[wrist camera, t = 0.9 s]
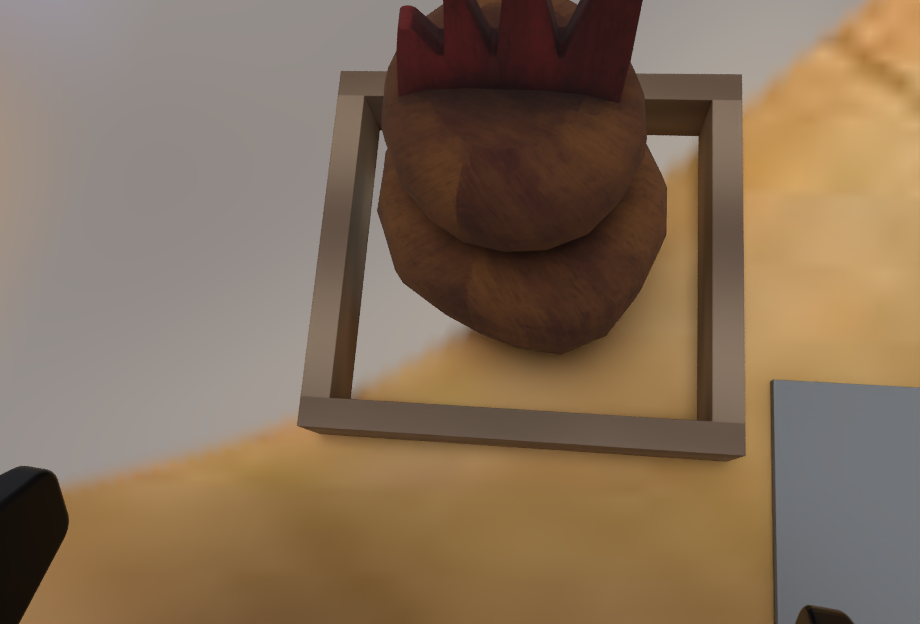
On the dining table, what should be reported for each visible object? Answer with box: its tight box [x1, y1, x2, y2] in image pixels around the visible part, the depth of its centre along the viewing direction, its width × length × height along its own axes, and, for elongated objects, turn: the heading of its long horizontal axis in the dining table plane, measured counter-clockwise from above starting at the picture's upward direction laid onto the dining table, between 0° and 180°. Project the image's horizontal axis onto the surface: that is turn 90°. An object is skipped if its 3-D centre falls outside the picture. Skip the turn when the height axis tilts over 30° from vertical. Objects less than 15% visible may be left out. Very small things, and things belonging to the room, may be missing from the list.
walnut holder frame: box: [297, 71, 746, 461], centre depth 23 cm, size 11×12×2 cm
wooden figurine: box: [377, 0, 667, 354], centre depth 17 cm, size 7×6×15 cm
